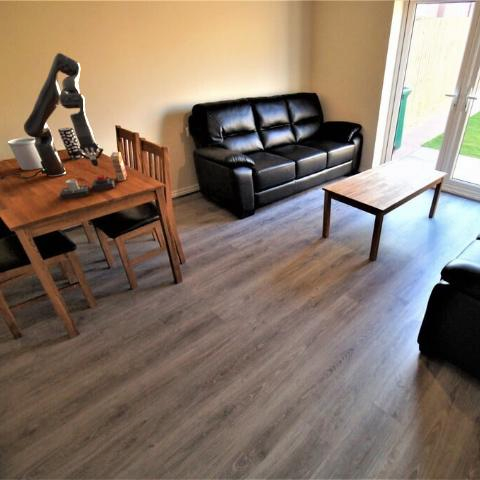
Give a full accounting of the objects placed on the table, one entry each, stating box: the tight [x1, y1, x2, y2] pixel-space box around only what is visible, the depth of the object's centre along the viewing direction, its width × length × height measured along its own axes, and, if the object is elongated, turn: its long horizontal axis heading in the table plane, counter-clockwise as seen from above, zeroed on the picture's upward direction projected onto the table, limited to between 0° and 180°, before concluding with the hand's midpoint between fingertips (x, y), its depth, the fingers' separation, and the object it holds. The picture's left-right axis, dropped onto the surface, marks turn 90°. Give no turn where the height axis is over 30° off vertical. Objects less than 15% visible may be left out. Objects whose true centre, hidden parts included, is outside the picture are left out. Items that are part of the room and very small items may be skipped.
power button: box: [96, 174, 107, 180], centre depth 185 cm, size 4×4×2 cm
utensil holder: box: [7, 137, 43, 171], centre depth 211 cm, size 15×15×18 cm
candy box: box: [110, 151, 128, 182], centre depth 195 cm, size 9×4×15 cm, turn 20°
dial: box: [65, 178, 80, 191], centre depth 175 cm, size 5×5×5 cm
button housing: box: [91, 176, 116, 192], centre depth 186 cm, size 10×9×5 cm
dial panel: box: [59, 184, 91, 201], centre depth 177 cm, size 12×10×3 cm
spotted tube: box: [57, 127, 84, 160], centre depth 227 cm, size 8×8×20 cm
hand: (96, 165), depth 181 cm, fingers closed
